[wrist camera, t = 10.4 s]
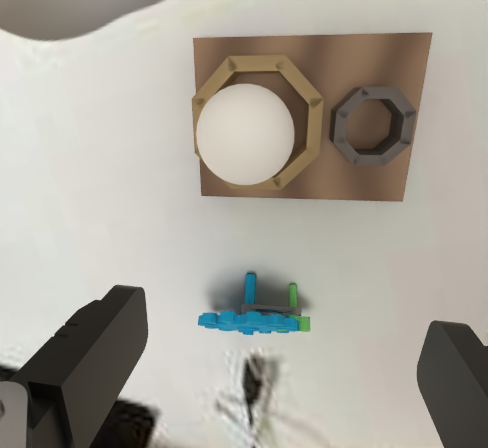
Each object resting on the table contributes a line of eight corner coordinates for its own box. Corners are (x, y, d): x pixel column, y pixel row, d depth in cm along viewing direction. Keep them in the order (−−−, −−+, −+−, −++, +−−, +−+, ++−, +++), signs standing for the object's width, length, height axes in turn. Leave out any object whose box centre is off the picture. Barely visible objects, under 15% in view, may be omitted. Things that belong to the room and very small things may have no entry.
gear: (198, 335, 37) (194, 325, 28) (204, 282, 39) (201, 257, 30) (296, 341, 38) (324, 334, 29) (296, 289, 40) (321, 266, 31)
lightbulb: (217, 156, 30) (184, 191, 19) (221, 82, 27) (184, 77, 17) (286, 163, 29) (288, 202, 19) (296, 88, 27) (303, 87, 17)
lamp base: (424, 35, 26) (451, 24, 22) (397, 196, 31) (414, 212, 26) (197, 41, 28) (182, 31, 24) (205, 191, 33) (193, 205, 28)
